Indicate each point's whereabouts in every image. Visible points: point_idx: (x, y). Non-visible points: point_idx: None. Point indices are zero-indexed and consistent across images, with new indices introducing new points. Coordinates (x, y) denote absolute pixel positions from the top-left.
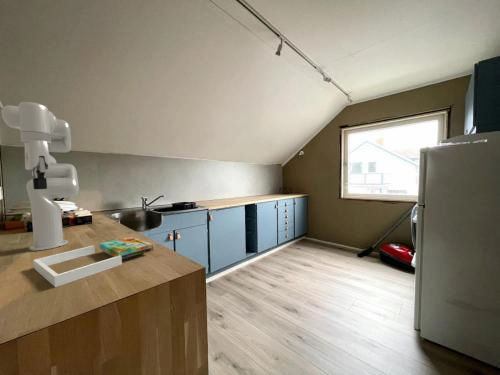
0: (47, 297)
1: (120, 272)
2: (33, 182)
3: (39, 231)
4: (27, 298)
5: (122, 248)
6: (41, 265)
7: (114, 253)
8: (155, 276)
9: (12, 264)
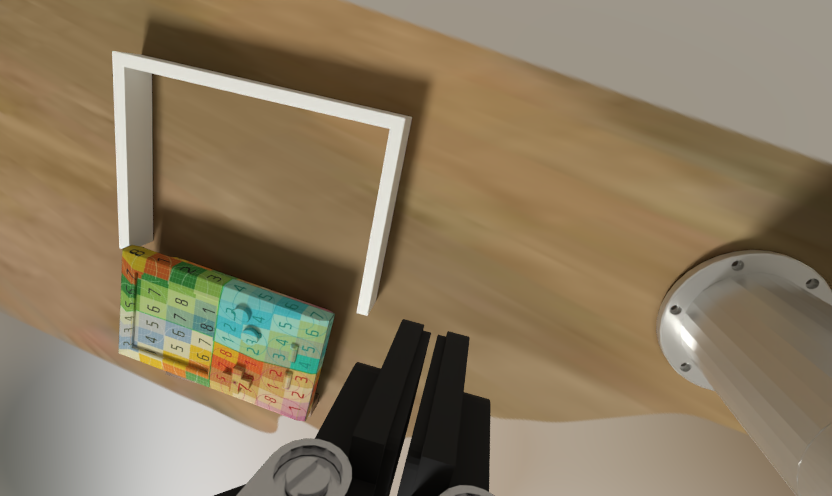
0: (87, 9)
1: (85, 191)
2: (443, 395)
3: (778, 322)
4: None
5: (163, 292)
6: (284, 92)
7: (162, 257)
8: None
9: (587, 110)
